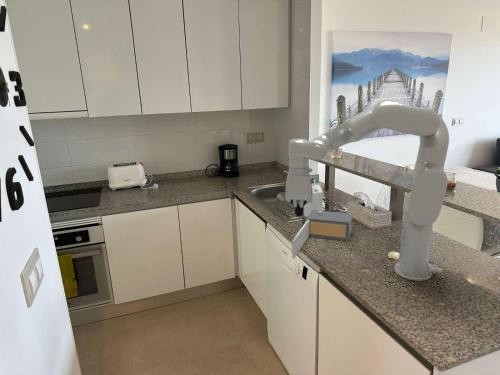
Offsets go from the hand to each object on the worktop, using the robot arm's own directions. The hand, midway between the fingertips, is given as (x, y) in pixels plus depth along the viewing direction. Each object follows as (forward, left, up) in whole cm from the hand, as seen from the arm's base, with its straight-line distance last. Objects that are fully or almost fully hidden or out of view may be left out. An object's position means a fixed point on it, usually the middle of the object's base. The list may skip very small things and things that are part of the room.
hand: (299, 215), depth 137 cm
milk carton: (+3, -47, -19) cm, 51 cm away
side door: (+1, -10, -18) cm, 21 cm away
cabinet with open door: (-7, -28, -18) cm, 34 cm away
